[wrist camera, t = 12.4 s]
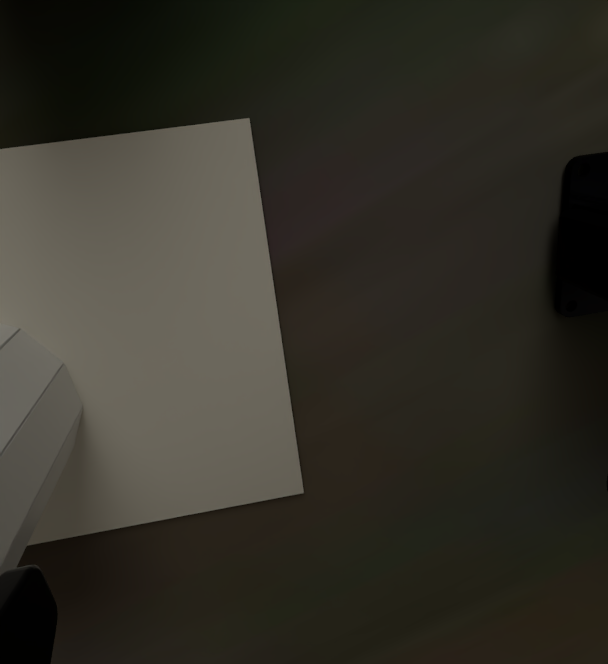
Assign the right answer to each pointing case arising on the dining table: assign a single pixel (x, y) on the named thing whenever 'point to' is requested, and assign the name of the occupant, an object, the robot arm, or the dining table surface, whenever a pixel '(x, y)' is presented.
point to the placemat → (152, 321)
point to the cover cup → (31, 435)
